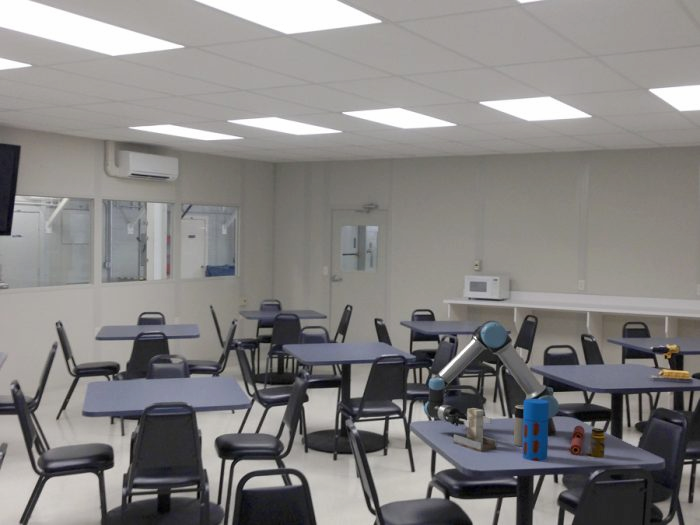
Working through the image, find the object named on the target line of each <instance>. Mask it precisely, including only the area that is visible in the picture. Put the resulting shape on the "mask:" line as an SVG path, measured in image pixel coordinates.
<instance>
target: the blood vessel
mask: <svg viewBox="0 0 700 525" xmlns="http://www.w3.org/2000/svg"><path fill="white" fill-rule="evenodd" d="M572 433H573V434H572V439H571V441H570V448H569V452H570V454H571V455H573V456H580V455H581V454H582V451H583V443H584V438H585V428H584V427H583V426H582V425H576V426H575V427H574V428H573V432H572Z"/></svg>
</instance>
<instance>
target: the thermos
mask: <svg viewBox="0 0 700 525" xmlns="http://www.w3.org/2000/svg"><path fill="white" fill-rule="evenodd" d="M523 405H524V411H523V447H522V458H523V459H526V460H529V461H535V462H537V461H538V462H543V461H546V460H548V451H549V450H548V449H549V436H548V419H549V403H548V401H546V400H541V399H526V398H525V399H524V401H523Z"/></svg>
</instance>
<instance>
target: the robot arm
mask: <svg viewBox="0 0 700 525" xmlns="http://www.w3.org/2000/svg"><path fill="white" fill-rule="evenodd" d="M485 350H490V352H491V353H492V354H493V355H497V356H498V358H499V359H500V360H501V362H502V363H503V365H504V366H505V368H506V369H507V370H508V371H509V373H510V374H511V376H512V378H514V380H515V382H516V383H517V384H518V385H519V387H520V389H521V390H522V391H523V392H524V393H525V396H526V397H525V399H541V400H546V401H548V403H549V419H548V437H550V436H554V435H556V434H557V433H556V431H557V430H556V426H555V422H554V419H553V418H554V417H555V416H556V415H557V414H558V412H559V409H560V408H559V407H560V405H559V401H558V400H557V399H556V398H555V396H554V389H553V387H550V386H547V385H545V384H541V383H540V381H539V379H537V377H536V376H535V375H534V372H532V371H531V369H530V368H529V366H528V365H527V363H526V361H525V360H524V359H523V358H522V357H521V355H520V353H519V352H518V351H517V350H516V348H515V347H514V346H513V339H512V337H511V336H510V335H509V334H508V332H507V330H506V328H505V327H504V326H503V325H502V324H500V322H498V321H497V320H487V321H485V322H484V323H482V325H481V326H480V327H479V328H478V330H477V331H476V332H475V333H474V334H473V335H472V339H471V340H470V341H469V342H468V343H467V344H466V345H465V346H463V348H462V349H461V350H460V351H459V352H458V353H457V354H456V355H455V356H454V357H453V358H452V359H451V360H450V361H449V362H448V363H447V364H446V365H445V366H444V367H443V368H442V369H441V370H440V371H439V372H438V373H437V374H436V375H435V376H434V377H431V378H430V379H429V381H428V401H427V402H425V404H424V406H423V411H424V414H425V415H426V416H428V417H430V418H432V419H436V420H441V421H443V422H444V423H446V422H448V423H450V424H451V425H452V426H453V425H455V427H459V426H463V427H465V428H467V427H470V421H467V411H466V412H462V411H460V409H459V408H457V407H454V406H451V405H447V404H445V389H446V388H447V386H448V385H449V384H450V383H451V382H453V380H455V378H457V376H459V374H461V373H462V372H463V371H464V369H465V368H467V366H469V365H470V364H471V363H472V362H473V360H475V358H477V356H479V355H480V354H481V353H482V352H483V351H485ZM492 422H493V421H492V417H489V416H486V415H485V414H483V424H489V425H492Z"/></svg>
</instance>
